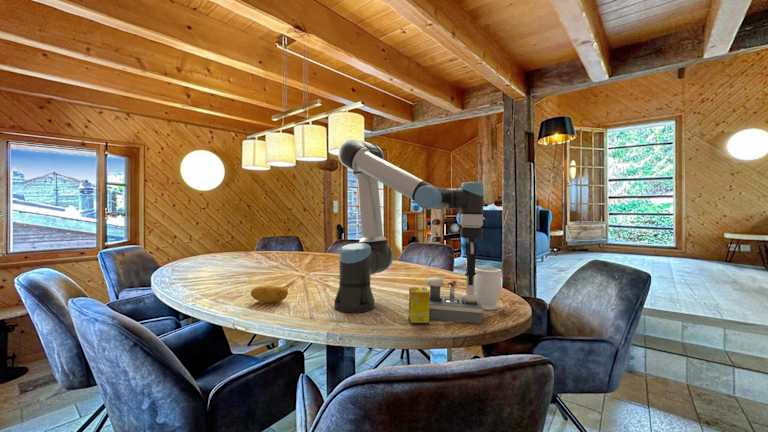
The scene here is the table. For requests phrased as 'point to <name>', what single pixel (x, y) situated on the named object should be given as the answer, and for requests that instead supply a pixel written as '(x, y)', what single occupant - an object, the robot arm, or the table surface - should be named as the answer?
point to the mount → (455, 310)
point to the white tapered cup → (487, 286)
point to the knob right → (469, 298)
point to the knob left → (435, 287)
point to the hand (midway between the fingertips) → (470, 293)
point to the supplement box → (419, 305)
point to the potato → (269, 294)
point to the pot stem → (452, 292)
